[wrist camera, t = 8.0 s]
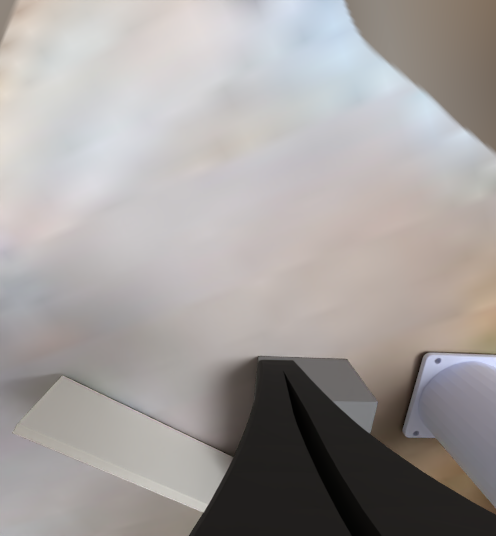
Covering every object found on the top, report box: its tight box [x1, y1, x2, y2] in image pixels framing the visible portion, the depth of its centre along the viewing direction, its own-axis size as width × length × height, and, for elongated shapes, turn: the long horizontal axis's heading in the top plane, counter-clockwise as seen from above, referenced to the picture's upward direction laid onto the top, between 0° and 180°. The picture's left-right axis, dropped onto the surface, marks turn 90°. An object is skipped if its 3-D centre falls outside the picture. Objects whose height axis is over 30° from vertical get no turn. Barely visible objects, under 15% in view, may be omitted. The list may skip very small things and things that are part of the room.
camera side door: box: [12, 375, 233, 513], centre depth 19 cm, size 1×16×4 cm, turn 55°
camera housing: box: [253, 356, 378, 433], centre depth 20 cm, size 7×11×4 cm, turn 175°
